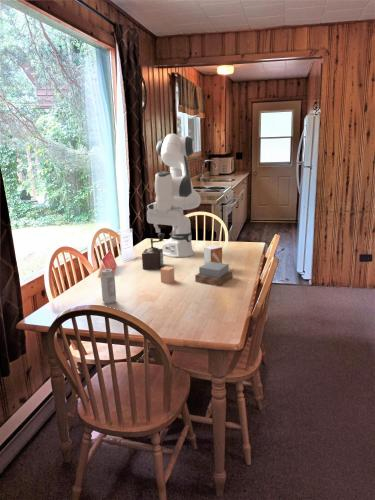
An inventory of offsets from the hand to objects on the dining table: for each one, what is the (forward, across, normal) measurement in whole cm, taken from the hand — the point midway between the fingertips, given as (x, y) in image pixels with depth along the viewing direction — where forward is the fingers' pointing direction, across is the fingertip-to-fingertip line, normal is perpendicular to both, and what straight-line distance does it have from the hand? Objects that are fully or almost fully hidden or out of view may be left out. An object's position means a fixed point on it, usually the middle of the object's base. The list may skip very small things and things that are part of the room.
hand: (165, 233), depth 201 cm
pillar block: (+25, 0, 0) cm, 25 cm away
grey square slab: (+22, -20, -13) cm, 32 cm away
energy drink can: (+25, +8, +35) cm, 44 cm away
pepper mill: (+25, +22, -19) cm, 39 cm away
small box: (+25, -12, -27) cm, 39 cm away
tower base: (+26, -20, -13) cm, 35 cm away
